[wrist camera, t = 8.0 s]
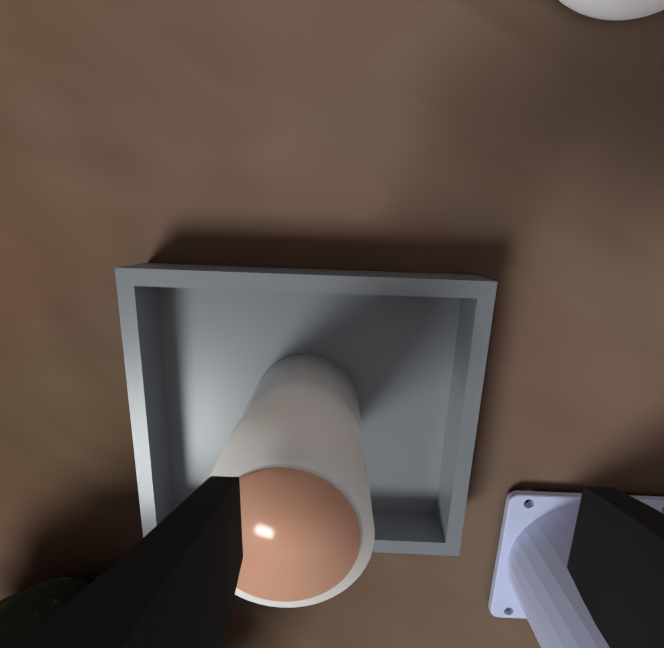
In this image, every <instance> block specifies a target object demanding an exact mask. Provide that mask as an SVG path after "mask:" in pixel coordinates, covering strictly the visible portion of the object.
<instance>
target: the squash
mask: <svg viewBox="0 0 664 648" xmlns="http://www.w3.org/2000/svg"><path fill="white" fill-rule="evenodd" d="M87 585H88V584H87V583H86V582H84V581H83V580H81V579H77V578H73V577H61V578H57V579H52V580H47V581H44V582H41V583H39V584H37V585H34V586H32V587H29V588H27V589H24V590H22V591H20V592H18V593H16V594H13V595H11V596H9V597H7V598H5V599H3V600H1V601H0V648H8V647H9V646H10V645H12V644H13V643H15V642H16V641H17V640H19V639H20V638H21V637H23V636H24V635H25V634H27V633H28V632H29V631H31V630H32V629H33V628H35V627H36V626H37V625H39V624H40V623H41V622H43V621H44V620H45V619H46V618H48V617H49V616H50V615H52V614H53V613H54V612H55V611H57V610H58V609H59V608H61V607H62V606H63V605H64V604H66V603H67V602H68V601H69V600H70V599H72V598H73V597H74V596H75V595H77V594H78V593H79V592H80V591H81V590H83V589H84V588H85V587H86V586H87Z"/></svg>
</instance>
